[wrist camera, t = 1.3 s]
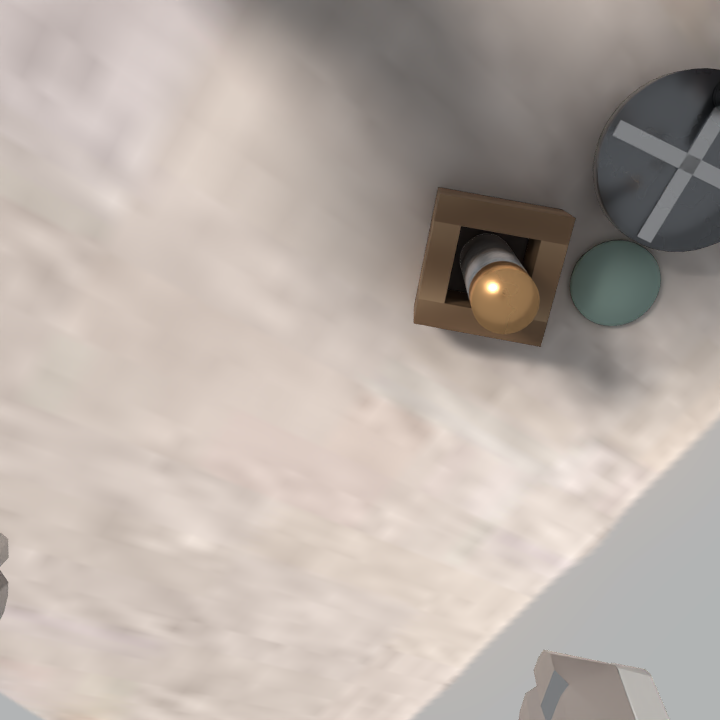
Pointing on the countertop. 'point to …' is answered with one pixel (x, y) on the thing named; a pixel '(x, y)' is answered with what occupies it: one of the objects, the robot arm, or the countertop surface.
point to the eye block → (501, 216)
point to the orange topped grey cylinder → (498, 285)
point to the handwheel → (664, 162)
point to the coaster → (615, 283)
